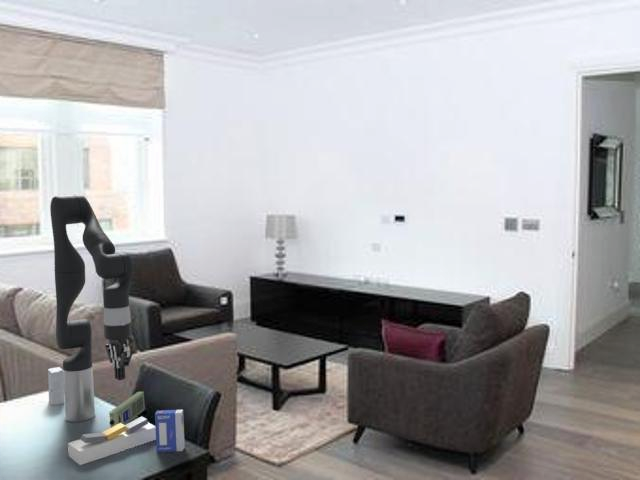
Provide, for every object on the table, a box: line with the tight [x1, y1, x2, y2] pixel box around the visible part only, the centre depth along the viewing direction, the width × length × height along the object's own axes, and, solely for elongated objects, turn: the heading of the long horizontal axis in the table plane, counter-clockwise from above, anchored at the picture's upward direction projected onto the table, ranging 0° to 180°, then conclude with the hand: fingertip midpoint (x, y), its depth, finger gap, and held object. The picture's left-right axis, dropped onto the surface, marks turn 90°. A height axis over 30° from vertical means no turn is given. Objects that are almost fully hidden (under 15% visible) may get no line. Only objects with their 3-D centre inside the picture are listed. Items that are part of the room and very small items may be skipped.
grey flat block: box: [80, 432, 106, 443], centre depth 181 cm, size 3×6×2 cm, turn 134°
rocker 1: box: [101, 423, 127, 440], centre depth 185 cm, size 3×6×2 cm, turn 134°
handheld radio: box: [108, 391, 146, 428], centre depth 205 cm, size 7×3×25 cm
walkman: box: [154, 409, 185, 453], centre depth 185 cm, size 8×3×12 cm, turn 94°
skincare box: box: [47, 366, 65, 406], centre depth 225 cm, size 6×4×12 cm
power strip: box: [67, 422, 156, 466], centre depth 187 cm, size 8×24×4 cm, turn 134°
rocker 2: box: [125, 416, 149, 433], centre depth 190 cm, size 3×6×2 cm, turn 134°
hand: (120, 378), depth 185 cm, fingers closed
